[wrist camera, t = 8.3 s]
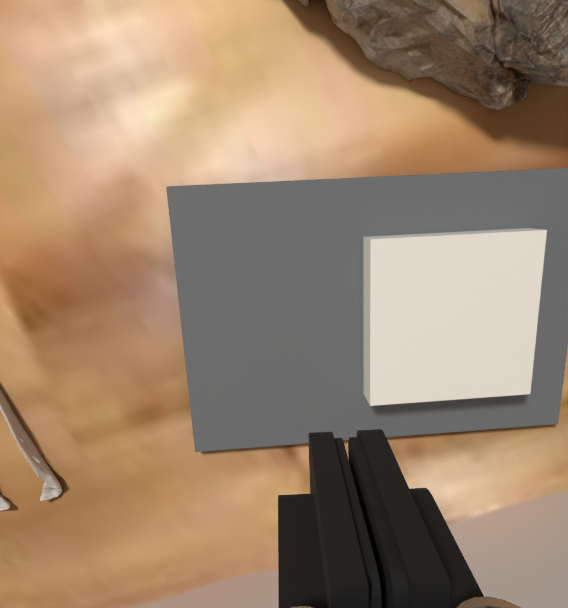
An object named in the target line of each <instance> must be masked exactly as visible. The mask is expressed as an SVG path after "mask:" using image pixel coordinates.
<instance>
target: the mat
mask: <svg viewBox="0 0 568 608" xmlns="http://www.w3.org/2000/svg"><path fill="white" fill-rule="evenodd" d="M166 188H167V197H168V206H169V215H170V224H171V234H172V243H173V252H174V261H175V270H176V279H177V288H178V298H179V307H180V316H181V325H182V334H183V343H184V353H185V362H186V371H187V380H188V389H189V398H190V407H191V417H192V426H193V435H194V444H195V452H203V451H216V450H228V449H241V448H254V447H267V446H280V445H293V444H306V443H309V433H314V432H333V436H334V438H342V439H343V441H345V440H349V437H357V431H358V430H374V429H382V430H383V432H384V434H385V436H386V437H397V436H409V435H422V434H435V433H448V432H461V431H474V430H487V429H500V428H513V427H526V426H539V425H552V424H558V420H559V411H560V403H561V395H562V386H563V378H564V370H565V362H566V353H567V345H568V168H560V169H538V170H516V171H495V172H473V173H451V174H430V175H408V176H386V177H364V178H343V179H321V180H299V181H278V182H256V183H234V184H212V185H191V186H169V187H166ZM515 228H533V229H543V230H547V235H546V244H545V254H544V264H543V274H542V284H541V294H540V304H539V313H538V323H537V333H536V343H535V353H534V363H533V373H532V382H531V392H530V394H525V395H512V396H498V397H484V398H471V399H457V400H443V401H430V402H416V403H403V404H389V405H375V406H370V405H369V403H368V401H367V399H366V398H365V396H364V394H363V237H365V236H384V235H402V234H421V233H440V232H459V231H478V230H496V229H515Z"/></svg>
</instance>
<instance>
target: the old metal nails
mask: <svg viewBox="0 0 568 608" xmlns="http://www.w3.org/2000/svg"><path fill="white" fill-rule="evenodd" d="M0 410H1V412H2V414H3V416H4V417H5V419H6V421H7V423H8V426H9V428H10V430H11V432H12V434H13V436H14V438H15V440H16V442H17V444H18V446H19V448H20V449H21V451H22V452H23V454H24V456H25V458H26V459H27V461H28V463H29V464H30V466H31V467H32V468H33V470H34V472H35V473H36V475H37V477H38V478H41V479H43V480H44V485H43V488H42V495H41V498H40V501H45V500H50V499H52V498H53V497H55V498H56V497H58V496H59V495H60V494H61V493H62V487H61V485H60V483H59V481H58V480H57V478H56V477H55V476H54V474H53V473H52V471H51V470H50V468H49V467H48V465H47V464H46V462H45V461H44V460H43V458H42V457H41V455H40V454H39V452H38V450H37V448H36V447H35V445H34V444H33V442H32V441H31V439H30V438H29V436H28V434H27V433H26V431H25V430H24V428H23V427H22V425H21V424H20V422H19V420H18V419H17V417H16V415H15V414H14V412H13V410H12V408H11V407H10V405H9V403H8V401H7V399H6V398H5V396H4V394H3V393H2V391H1V389H0ZM10 505H11V503H10V502H9V501H8V500H7V499H5V498H4V497H3V496H2V495H1V494H0V510H7V509H9V508H10Z"/></svg>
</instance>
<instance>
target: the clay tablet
mask: <svg viewBox="0 0 568 608" xmlns="http://www.w3.org/2000/svg"><path fill="white" fill-rule="evenodd" d="M298 1H299V2H300V3H301V4H302V5H303V6H304V7H305V6H307V5H309V0H298ZM325 1H326V4H327V8H328V11H329V14H330V16H331V19H332V22H333V23H334V24H335V25H336V26H337V27H338V28H340V29H341V30H342V31H343V32H345V33H346V34H348V35H349V36H351V37H352V38H354V39H355V40H356V42H357V43H358V44H359V45H360V47H361V48H362V51H363V53H364V56H365V57H366V58H367V59H369V60H370V61H371V62H373V63H374V64H375V65H377V66H378V67H379V68H381V69H382V70H386V71H390V72H396V73H398V74H400V75H401V76H402V77H403V78H404V79H406V80H407V81H408V82H409V81H412V80H414V79H417V78H420V77H429V76H430V77H431V78H433V79H435V80H436V81H438V82H440V83H441V84H443V85H444V86H446V87H447V88H449V89H450V90H451V91H453V92H454V93H456V94H459V95H463V96H467V97H471V98H475V99H477V100H478V102H479V104H480V106H484V107H488V108H492V109H496V110H500V109H502V108H505V107H508V106H510V105H512V104H514V103H517V102H519V101H521V100H523V99H525V98H527V97H528V85H529V83H530V82H531V81H532V82H534V83H537V84H541V85H548V84H553V85H558V86H564V87H568V0H325ZM515 69H516V70H517V71H518V72H519V75H518V74H517V72H516V71H515Z"/></svg>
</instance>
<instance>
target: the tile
mask: <svg viewBox="0 0 568 608" xmlns="http://www.w3.org/2000/svg"><path fill="white" fill-rule="evenodd" d="M546 235H547V230H543V229H533V228H515V229H496V230H478V231H459V232H440V233H421V234H402V235H384V236H365V237H363V394H364V396H365V398H366V399H367V401H368V403H369V405H370V406H375V405H389V404H403V403H416V402H430V401H443V400H457V399H471V398H484V397H498V396H512V395H525V394H530V392H531V382H532V373H533V363H534V353H535V343H536V333H537V323H538V313H539V304H540V294H541V284H542V274H543V264H544V254H545V244H546Z"/></svg>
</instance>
